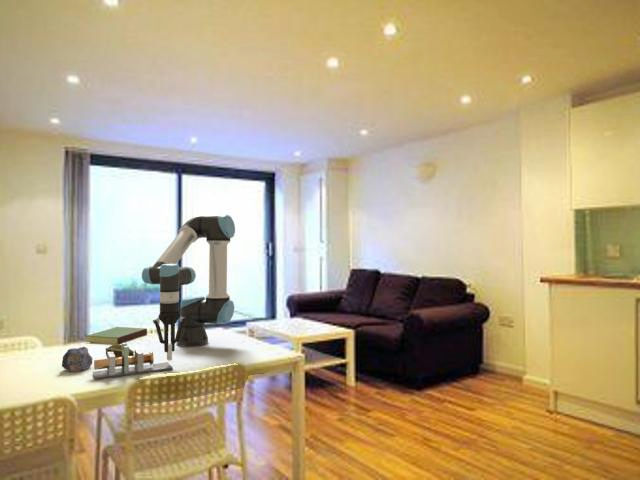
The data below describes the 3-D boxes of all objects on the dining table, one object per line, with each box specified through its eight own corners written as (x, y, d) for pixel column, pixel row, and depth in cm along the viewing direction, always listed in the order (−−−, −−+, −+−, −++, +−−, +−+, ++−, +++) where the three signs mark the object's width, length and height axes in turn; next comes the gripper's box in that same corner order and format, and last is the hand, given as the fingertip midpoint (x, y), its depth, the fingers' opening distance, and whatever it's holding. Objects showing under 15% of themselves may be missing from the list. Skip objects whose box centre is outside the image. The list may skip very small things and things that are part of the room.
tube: (94, 370, 175) (94, 356, 175) (151, 363, 185) (151, 350, 185) (94, 373, 170) (95, 359, 170) (153, 366, 181) (153, 353, 181)
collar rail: (92, 374, 176) (93, 345, 177) (167, 364, 190) (167, 338, 190) (94, 380, 169) (94, 350, 169) (172, 370, 183) (172, 342, 183)
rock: (67, 359, 189) (76, 339, 187) (90, 370, 189) (99, 350, 187) (51, 371, 178) (61, 351, 176) (76, 383, 179) (86, 363, 177)
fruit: (104, 365, 190) (104, 349, 190) (105, 358, 201) (105, 343, 201) (134, 362, 194) (134, 346, 194) (133, 355, 205) (133, 341, 205)
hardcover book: (118, 345, 228) (118, 337, 228) (85, 343, 232) (85, 335, 232) (147, 335, 252) (147, 328, 252) (117, 333, 256) (117, 326, 256)
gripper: (154, 304, 180) (154, 364, 180) (187, 302, 186) (187, 359, 187) (151, 301, 187) (151, 359, 187) (183, 299, 193) (183, 355, 193)
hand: (169, 359), depth 187 cm, fingers closed
